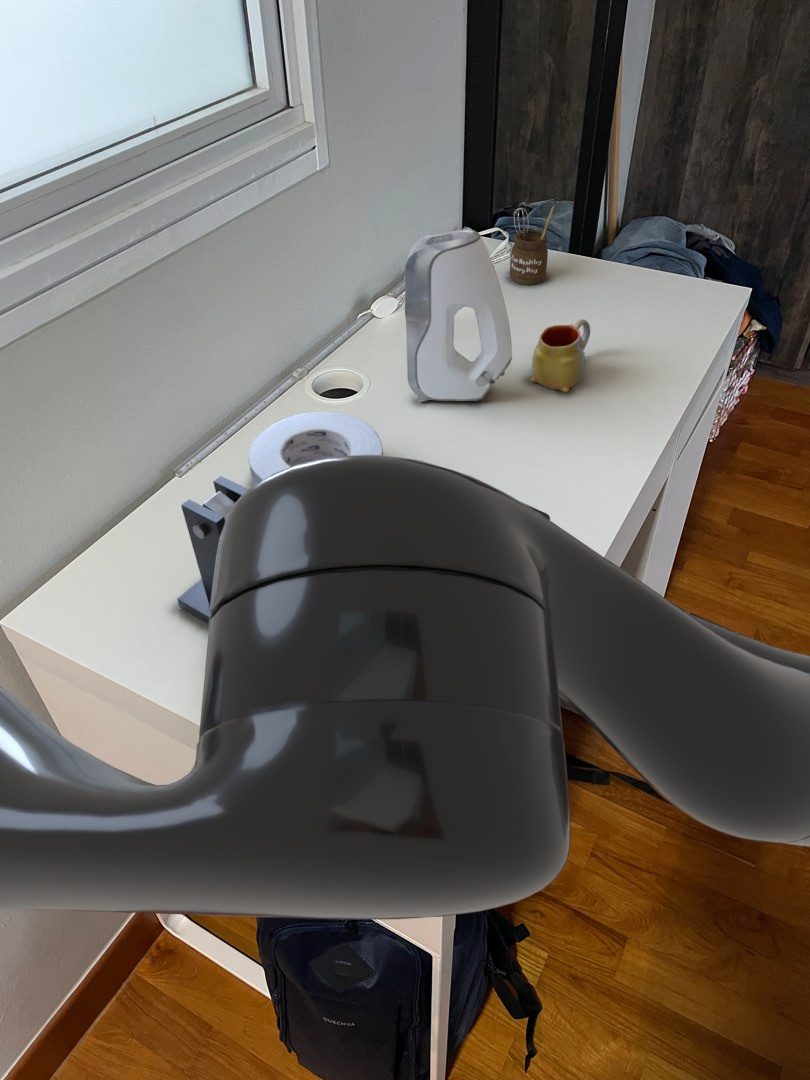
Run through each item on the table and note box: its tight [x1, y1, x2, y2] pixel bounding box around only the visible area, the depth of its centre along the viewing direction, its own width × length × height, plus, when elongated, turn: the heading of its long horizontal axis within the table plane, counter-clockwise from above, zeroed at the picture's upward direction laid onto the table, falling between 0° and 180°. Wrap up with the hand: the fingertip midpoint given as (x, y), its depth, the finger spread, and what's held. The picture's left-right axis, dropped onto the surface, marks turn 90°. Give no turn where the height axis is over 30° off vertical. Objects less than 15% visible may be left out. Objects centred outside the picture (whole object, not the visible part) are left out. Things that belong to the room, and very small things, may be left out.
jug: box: [404, 229, 513, 403], centre depth 102 cm, size 13×5×22 cm, turn 83°
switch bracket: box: [177, 475, 250, 625], centre depth 78 cm, size 10×8×14 cm
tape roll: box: [248, 411, 384, 487], centre depth 95 cm, size 15×15×5 cm
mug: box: [530, 319, 591, 393], centre depth 111 cm, size 12×7×7 cm, turn 141°
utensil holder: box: [509, 204, 556, 286], centre depth 130 cm, size 6×6×12 cm
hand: (361, 529), depth 54 cm, fingers open, 8 cm apart
